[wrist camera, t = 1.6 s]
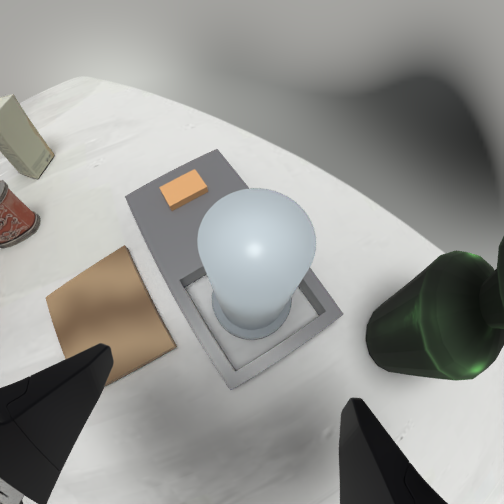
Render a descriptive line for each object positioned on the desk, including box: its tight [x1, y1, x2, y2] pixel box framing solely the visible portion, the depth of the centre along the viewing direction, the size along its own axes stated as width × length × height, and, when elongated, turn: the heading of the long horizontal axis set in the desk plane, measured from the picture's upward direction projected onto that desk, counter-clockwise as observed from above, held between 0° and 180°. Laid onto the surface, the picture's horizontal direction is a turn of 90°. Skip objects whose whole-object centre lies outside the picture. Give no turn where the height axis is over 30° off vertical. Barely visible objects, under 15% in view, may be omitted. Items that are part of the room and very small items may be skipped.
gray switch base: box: [125, 149, 343, 390], centre depth 22 cm, size 19×10×3 cm, turn 33°
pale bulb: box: [197, 188, 316, 340], centre depth 17 cm, size 6×6×12 cm
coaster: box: [46, 245, 177, 387], centre depth 21 cm, size 10×10×1 cm
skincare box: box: [0, 94, 54, 179], centre depth 23 cm, size 6×4×12 cm
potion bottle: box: [366, 237, 504, 380], centre depth 13 cm, size 8×8×18 cm
